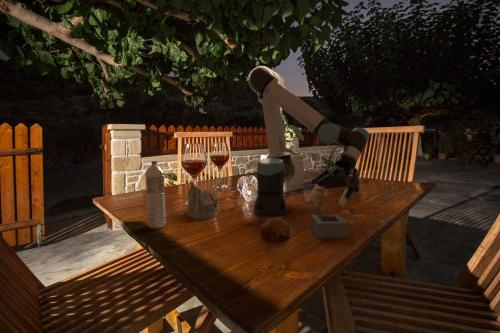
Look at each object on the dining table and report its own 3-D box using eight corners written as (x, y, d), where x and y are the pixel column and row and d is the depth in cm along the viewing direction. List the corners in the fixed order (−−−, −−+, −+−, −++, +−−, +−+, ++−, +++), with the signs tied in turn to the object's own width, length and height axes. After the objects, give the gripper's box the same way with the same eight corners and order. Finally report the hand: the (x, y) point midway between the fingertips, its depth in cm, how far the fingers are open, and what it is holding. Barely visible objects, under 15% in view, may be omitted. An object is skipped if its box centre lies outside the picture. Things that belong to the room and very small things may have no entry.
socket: (317, 238, 94) (318, 223, 94) (310, 227, 104) (311, 214, 103) (347, 237, 94) (348, 223, 94) (337, 227, 104) (338, 214, 104)
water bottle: (160, 222, 113) (157, 160, 110) (170, 225, 109) (167, 161, 105) (144, 226, 108) (140, 161, 105) (154, 230, 103) (150, 162, 100)
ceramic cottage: (196, 220, 114) (196, 183, 113) (181, 213, 127) (181, 179, 126) (229, 216, 122) (230, 182, 122) (212, 209, 136) (213, 178, 135)
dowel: (314, 225, 107) (314, 189, 105) (311, 221, 111) (312, 187, 109) (324, 225, 107) (325, 188, 105) (321, 221, 111) (322, 186, 109)
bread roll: (288, 242, 100) (286, 219, 103) (293, 240, 91) (291, 215, 93) (260, 242, 100) (259, 220, 103) (262, 241, 90) (261, 216, 93)
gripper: (380, 168, 109) (358, 213, 101) (325, 163, 128) (304, 201, 120) (374, 155, 105) (351, 201, 97) (318, 152, 124) (296, 190, 116)
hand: (325, 201), depth 109 cm, fingers open, 13 cm apart
